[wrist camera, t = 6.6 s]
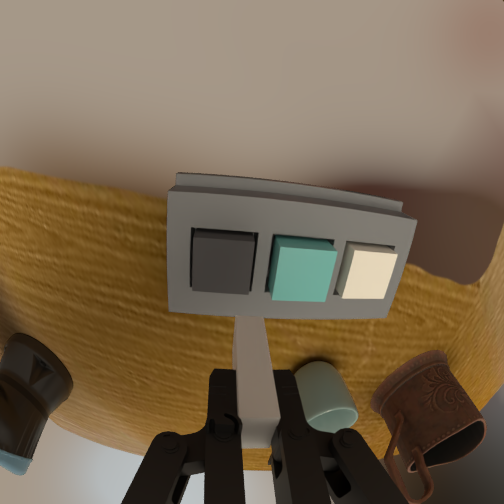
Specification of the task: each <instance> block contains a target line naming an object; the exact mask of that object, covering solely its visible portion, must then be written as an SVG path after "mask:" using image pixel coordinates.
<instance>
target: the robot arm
mask: <svg viewBox="0 0 504 504" xmlns="http://www.w3.org/2000/svg"><path fill="white" fill-rule="evenodd" d="M232 354H233V370H232V369H214V370H213V372H212V373H211V375H210V378H209V395H208V413H207V420H206V423H205V426H204V427H203V428H202V429H201V430H200V431H198V432H196V433H192V434H187V435H180V434H178V433H176V432H170V431H167V432H162V433H160V434H158V435H156V437H155V438H154V439H153V441H152V443H151V445H150V447H149V449H148V451H147V453H146V455H145V457H144V459H143V461H142V463H141V465H140V467H139V469H138V471H137V473H136V475H135V477H134V479H133V481H132V483H131V485H130V487H129V489H128V491H127V493H126V495H125V497H124V499H123V501H122V503H121V504H180V502H181V500H182V497H183V495H184V492H185V489H186V486H187V484H188V481H189V478H190V476H191V475H194V474H199V473H203V472H205V480H204V504H245V490H244V474H243V459H242V448H269V447H270V445H271V446H272V454H271V456H270V458H269V461H268V465H271V466H272V474H273V482H274V490H275V497H276V504H331V500H330V496H331V498H332V500H333V502H334V503H335V504H409V503H408V501H407V500H406V498H405V497H404V496H403V494H402V493H401V491H400V490H399V489H398V487H397V486H396V484H395V483H394V482H393V480H392V479H391V477H390V476H389V474H388V473H387V472H386V470H385V469H384V467H383V466H382V465H381V463H380V462H379V460H378V459H377V457H376V456H375V455H374V453H373V452H372V450H371V449H370V447H369V446H368V445H367V443H366V442H365V440H364V439H363V437H362V436H361V435H360V434H359V433H358V432H357V431H356V430H354V429H351V428H343V429H340V430H338V431H336V432H335V433H331V432H324V431H320V430H317V429H315V428H313V427H312V426H310V425H309V424H308V422H307V420H306V418H305V414H304V410H303V406H302V402H301V398H300V394H299V390H298V387H297V382H296V378H295V376H294V375H293V374H292V372H291V371H290V370H272V365H271V359H270V353H269V347H268V341H267V336H266V330H265V324H264V318H263V317H260V316H239V315H236V317H235V328H234V340H233V351H232ZM72 388H73V383H72V379H71V377H70V375H69V373H68V371H67V370H66V368H65V367H64V365H63V364H62V363H61V362H60V360H59V359H58V358H57V357H56V356H55V355H54V354H53V353H52V352H51V351H50V350H49V349H47V348H46V347H45V346H44V345H42V344H41V343H40V342H38V341H37V340H35V339H33V338H31V337H29V336H27V335H24V334H14V335H12V336H11V338H10V339H9V340H8V341H7V343H6V344H5V347H4V354H3V356H2V359H1V362H0V466H2V467H3V468H5V469H7V470H8V471H10V472H12V473H14V474H16V475H24V474H25V473H26V471H27V469H28V467H29V465H30V463H31V462H32V460H33V459H32V457H33V454H34V452H35V449H36V446H37V444H38V441H39V438H40V436H41V434H42V431H43V429H44V426H45V424H46V422H47V420H48V417H49V415H50V414H51V413H52V412H53V411H54V410H55V409H56V408H58V406H59V405H60V404H61V403H62V402H64V401H65V400H67V398H68V397H69V395H70V393H71V391H72ZM329 495H330V496H329Z"/></svg>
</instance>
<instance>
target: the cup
mask: <svg viewBox="0 0 504 504" xmlns="http://www.w3.org/2000/svg"><path fill="white" fill-rule="evenodd" d="M294 376H295V378H296V382H297V387H298V390H299V394H300V398H301V402H302V406H303V410H304V414H305V418H306V420H307V422H308V424H309V425H310V426H312V427H313V428H315V429H317V430H320V431H324V432H331V433H335V432H336V431H338V430H340V429H343V428H349V427H351V426H352V425H353V424H354V423H355V422H356V421H357V419H358V411H357V408H356V405H355V403H354V400H353V398H352V396H351V393H350V391H349V389H348V387H347V385H346V383H345V381H344V379H343V377H342V376H341V374H340V373H339V372H338V370H337V369H336V368H335V367H334V366H332V365H331V364H329V363H327V362H323V361H314V362H311V363H308V364H306V365H304V366H302V367H301V368H300V369H299V370H298V371H297V372H296V373H295V374H294Z"/></svg>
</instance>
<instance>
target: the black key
mask: <svg viewBox="0 0 504 504" xmlns="http://www.w3.org/2000/svg"><path fill="white" fill-rule="evenodd" d="M254 246H255V240H254V236H253V232H246V231H234V230H221V229H207V228H197V229H196V232H195V234H194V237H193V266H192V291H199V292H212V293H226V294H242V295H249V287H250V279H251V271H252V263H253V255H254Z"/></svg>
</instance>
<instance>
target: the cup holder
mask: <svg viewBox="0 0 504 504" xmlns="http://www.w3.org/2000/svg"><path fill="white" fill-rule="evenodd" d="M371 408H372V409H373V411H375V412H377V413H379V414H380V415H381V416H382V418H384V420H385V422H386V424H387V426H388V429H389V431H390V433H391V435H392V438H391V441H390V444H389V446H388V449H387V451H386V454H385V456H384V462H385V465H386V467H387V469H388V472H389V475H390V477H391V479H392V480H393V482H394V483H395V484H396V486H397V487H398V489H399V490H400V491H401V493H402V494H403V496H404V497H405V498H406V500H407V501H408V503H409V504H420V503H422V502H423V501H425V500H427V499H428V498H429V497H430V496H431V494H432V493H433V489H434V485H433V484H434V483H433V481H432V478H431V476H430V473H429V471H428V469H427V468H429V467H433V466H437V465H442V464H447V463H450V462H454V461H457V460H459V459H461V458H463V457H465V456H467V455H468V454H469V453H471V452H472V451H473V450H474V449H475V448H476V447H478V446H479V445H480V444H481V442H482V441H483V439H484V437H485V435H486V430H487V426H486V421H485V420H484V418H483V417H482V415H481V413H480V412H479V411H478V409H477V408H476V406H475V405H474V403H473V402H472V400H471V399H470V397H469V396H468V395H467V393H466V392H465V390H464V389H463V388H462V386H461V385H460V384H459V382H458V381H457V379H456V378H455V377H454V375H453V374H452V373H451V371H450V369H449V366H448V365H447V355H446V354H445V353H444V352H443V351H440V350H433V351H428V352H425V353H423V354H420V355H418V356H416V357H414V358H413V359H411V360H409V361H407V362H406V363H405V364H403V365H402V366H400V367H399V368H397V369H396V370H395V371H394V372H393V373H392V374H390V375H389V376H388V377H387V378H386V379H385V380H384V381H383V382H382V383H381V385H380V386H379V387H378V388H377V390H376V391H375V393H374V394H373V397H372V399H371ZM396 446H397V448H398V451H399V453H400V455H401V457H402V460H403V462H404V464H405V467H406V469H407V471H408V472H409V473H413V472H416V471H418V473H419V475H420V478H421V480H422V482H423V484H424V488H425V491H424V495H423V496H422V498H421V499H420V500H413V499H411V498H410V496H409V495H408V492H407V490H406V487H405V485H404V482H403V480H402V477H401V475H400V473H399V471H398V468H397V466H396V463H395V461H394V459H393V453H394V450H395V447H396Z"/></svg>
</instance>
